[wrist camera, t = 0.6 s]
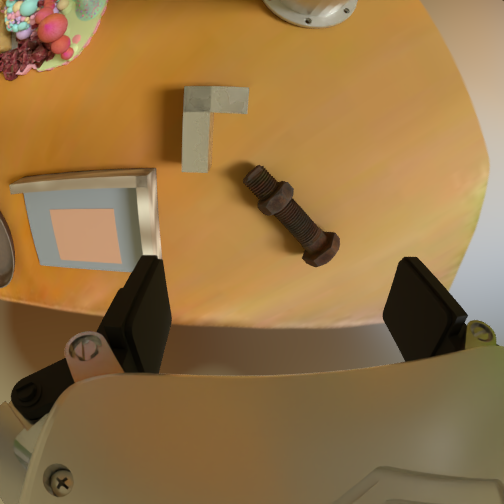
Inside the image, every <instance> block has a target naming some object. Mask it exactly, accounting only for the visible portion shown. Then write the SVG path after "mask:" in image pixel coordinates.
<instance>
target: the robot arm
mask: <svg viewBox="0 0 504 504" xmlns="http://www.w3.org/2000/svg"><path fill="white" fill-rule="evenodd" d="M262 1H263V2H264V3H265V5H266V6H267V7H268V8H269V9H270V10H271V11H272V12H273V13H274V14H275V15H277V16H278V17H279V18H281V19H283V20H285V21H287V22H289V23H291V24H294V25H297V26H300V27H305V28H315V29H320V28H328V27H332V26H335V25H337V24H339V23H341V22H343V21H344V20H346V19H347V18H348V17H349V16H350V15H351V14H352V13H353V11H354V10H355V8H356V5H357V1H358V0H271V1H269V0H262ZM503 1H504V0H503ZM344 11H345V12H346V13H345V12H344ZM305 21H308V22H309V24H307V23H306V22H305ZM467 316H468V315H467V313H466V312H465V311H464V310H463V308H462V307H461V306H460V305H459V304H458V302H457V301H456V300H455V299H454V298H453V296H452V295H451V294H450V293H449V292H448V291H447V289H446V288H445V287H444V286H443V285H442V284H441V283H440V282H439V280H438V279H437V278H436V277H435V276H434V275H433V274H432V273H431V272H430V270H429V269H428V268H427V267H426V266H425V265H424V264H423V263H422V262H421V261H420V260H419V259H418V258H417V257H404V258H403V259H402V260H401V261H400V262H399V263H398V267H397V270H396V273H395V277H394V280H393V283H392V286H391V290H390V293H389V296H388V299H387V302H386V305H385V308H384V311H383V320H384V322H385V324H386V325H387V327H388V329H389V331H390V333H391V335H392V337H393V339H394V340H395V342H396V344H397V346H398V348H399V350H400V351H401V354H402V356H403V358H404V360H405V362H401V363H395V364H389V365H382V366H375V367H368V368H360V369H351V370H342V371H332V372H320V373H308V374H290V375H265V376H211V375H183V374H182V375H181V374H159V370H160V366H161V361H162V357H163V353H164V349H165V345H166V342H167V338H168V334H169V330H170V326H171V321H172V317H171V310H170V304H169V298H168V292H167V286H166V279H165V272H164V265H163V260H162V259H158V256H157V255H142V256H141V257H140V259H139V261H138V262H137V264H136V266H135V268H134V269H133V271H132V273H131V275H130V276H129V278H128V280H127V282H126V284H125V285H124V287H123V288H120V289H119V291H118V292H117V294H116V296H115V298H114V299H113V301H112V303H111V305H110V307H109V309H108V311H107V312H106V314H105V316H104V318H103V320H102V322H101V324H100V326H99V328H98V330H97V332H92V331H88V332H82V333H79V334H77V335H75V336H74V337H72V338H71V339H70V340H69V341H68V343H67V344H66V346H65V350H64V351H65V357H66V358H64V359H62V360H60V361H58V362H56V363H54V364H52V365H50V366H48V367H46V368H44V369H41V370H40V371H37V372H35V373H33V374H31V375H29V376H27V377H25V378H23V379H21V380H20V381H19V382H18V383H17V384H16V385H15V386H14V388H13V390H12V394H11V401H10V402H9V403H7V402H6V401H4V402H3V403H2V404H1V405H0V498H1V499H2V501H3V502H4V503H5V504H504V347H503V346H499V345H497V344H496V334H495V332H494V331H493V329H492V328H491V327H490V326H489V325H487V324H486V323H484V322H482V321H478V320H472V321H470V322H469V323H468V324H467V325H466V324H465V323H464V322H465V320H466V318H467Z"/></svg>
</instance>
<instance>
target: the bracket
mask: <svg viewBox="0 0 504 504" xmlns="http://www.w3.org/2000/svg"><path fill="white" fill-rule="evenodd" d="M248 96H249V88H244V87H222V86H184V105H183V131H182V172H200V173H208V171H209V169H210V167H211V165H212V142H213V122H214V112H218V113H241V114H247V109H248Z"/></svg>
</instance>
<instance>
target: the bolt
mask: <svg viewBox="0 0 504 504" xmlns="http://www.w3.org/2000/svg"><path fill="white" fill-rule="evenodd" d="M243 183H245V185H247V187H249V189H251V191H253V192H252V193H254V195H256V197H258V199H260V200H259V201H258V208H259V209H260V211H261V212H262V213H263V214H266V215H269V216H270V215H273V214H274V216H276V217H277V219H279V221H281V223H282V224H283V225H284V226H285V227H286V228H287V229H288V230H289V231H290V232H291V233H292V234H293V235H294V237H295V238H296V239H297V240H298V241H299V242H300V243H301V245H302V247H303V248H304V249H305V251H304V254H303V257H302V259H303V260H304V261H305V262H306V263H307V264H309V265H311V266H314V267H318V266H321V265H324V264H326V263H328V262H329V261H330V260H331V259H332V258H333V257H334V256H335V254H336V253H337V251H338V250H339V246H340V238H339V237H338V236H337V234H336V233H333V232H323V231H322V230H321V229H319V228H318V227H317V226H316V224H315V223H314V222H313V221H312V220H311V219H310V217H309V216H308V215H307V214H306V213H305V212H304V211H303V210H302V208H301V207H300V206H299V205H298V204H297V203H296V202H295V201H294V199H292V196H293V188H292V187H291V185H290V184H289V183H288V182H284V181H281V182H276V180H275V178H273V176H271V174H269V172H267V170H265V168H264V167H263V166H260V165H258V166H256V167H255V168H254V169H253V170H252V171H251V172H250V173H248V174H247V176H246V177H245V178H244V179H243Z"/></svg>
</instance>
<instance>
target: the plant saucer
mask: <svg viewBox="0 0 504 504" xmlns="http://www.w3.org/2000/svg"><path fill="white" fill-rule="evenodd" d="M14 267H15V252H14V244H13V240H12V236H11V233H10V230H9V227H8V225H7V223H6V221H5V219H4V217H3V215H2V214H1V212H0V288H3V287H6V286H7V285H8V284H9V283H10V281H11V279H12V277H13V273H14Z"/></svg>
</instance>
